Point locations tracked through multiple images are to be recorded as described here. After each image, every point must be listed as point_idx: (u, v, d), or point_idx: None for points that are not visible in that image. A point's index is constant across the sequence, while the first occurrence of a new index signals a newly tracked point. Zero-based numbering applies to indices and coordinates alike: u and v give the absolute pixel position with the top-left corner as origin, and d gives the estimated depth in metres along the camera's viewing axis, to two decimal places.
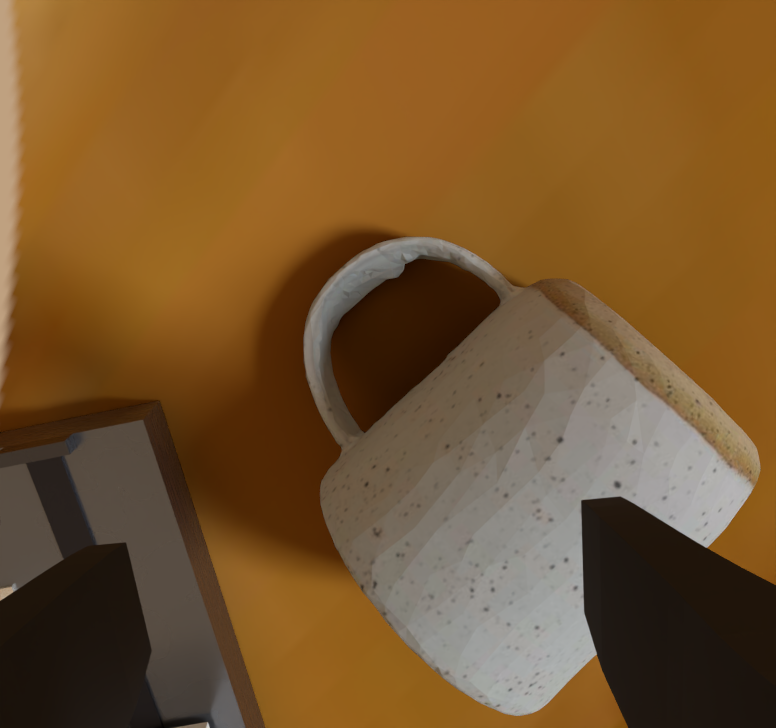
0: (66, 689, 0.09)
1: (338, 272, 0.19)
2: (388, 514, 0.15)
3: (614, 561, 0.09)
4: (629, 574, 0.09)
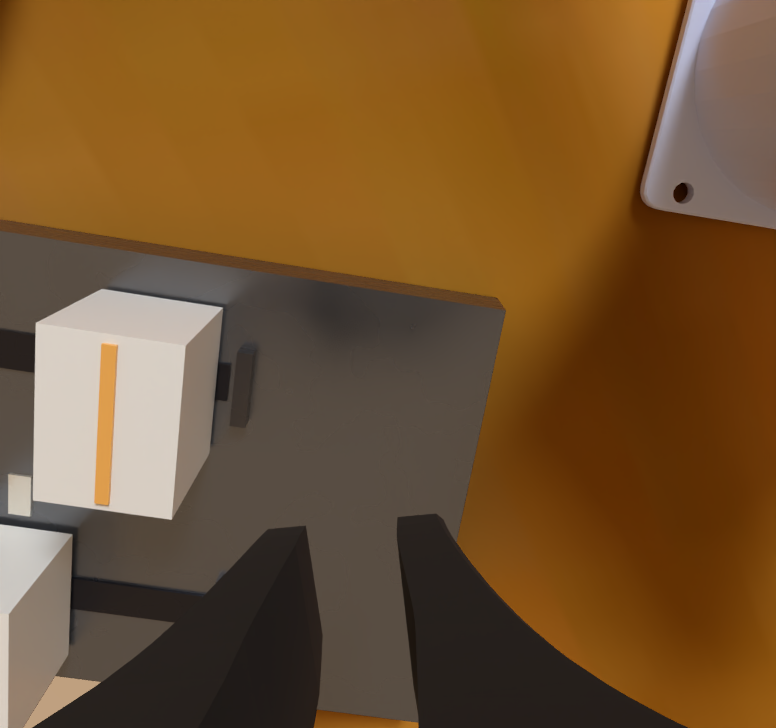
0: (284, 670, 0.09)
1: None
2: None
3: (403, 580, 0.10)
4: (406, 594, 0.09)
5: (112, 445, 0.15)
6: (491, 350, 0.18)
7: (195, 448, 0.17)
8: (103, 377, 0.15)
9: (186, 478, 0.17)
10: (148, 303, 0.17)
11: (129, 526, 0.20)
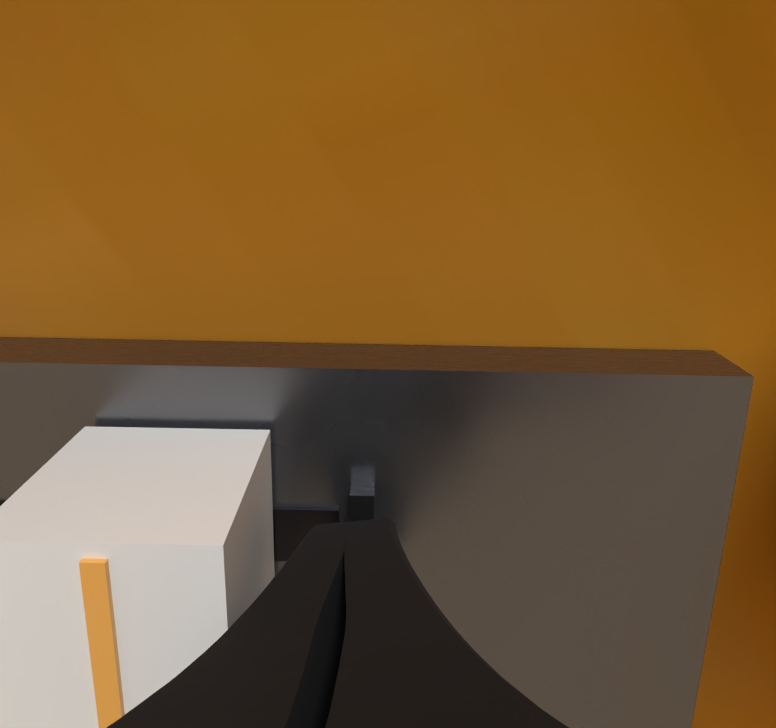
0: None
1: None
2: None
3: None
4: None
5: (123, 714, 0.09)
6: (734, 438, 0.12)
7: None
8: (92, 612, 0.09)
9: None
10: (156, 445, 0.11)
11: None
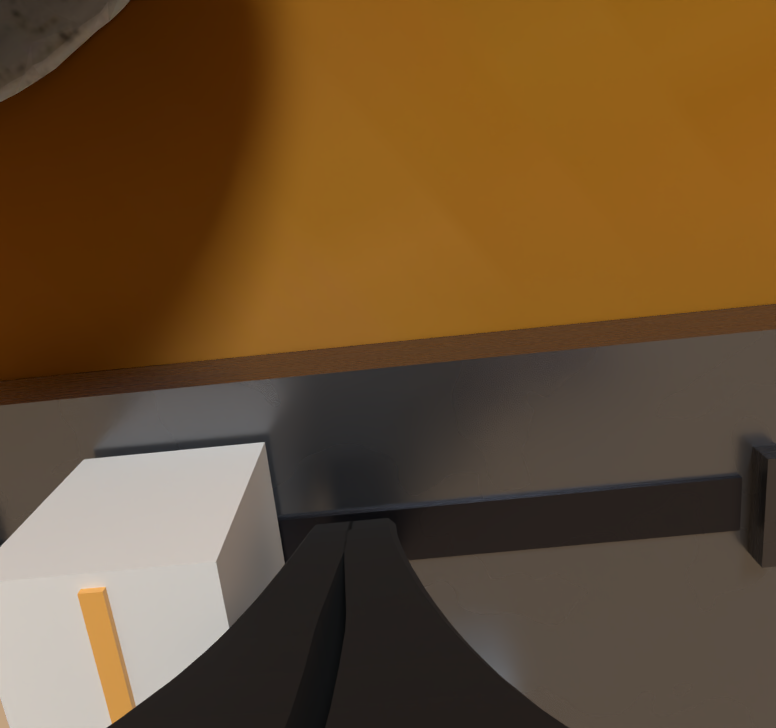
0: None
1: None
2: None
3: None
4: None
5: None
6: None
7: None
8: (97, 640, 0.09)
9: None
10: (152, 470, 0.11)
11: None
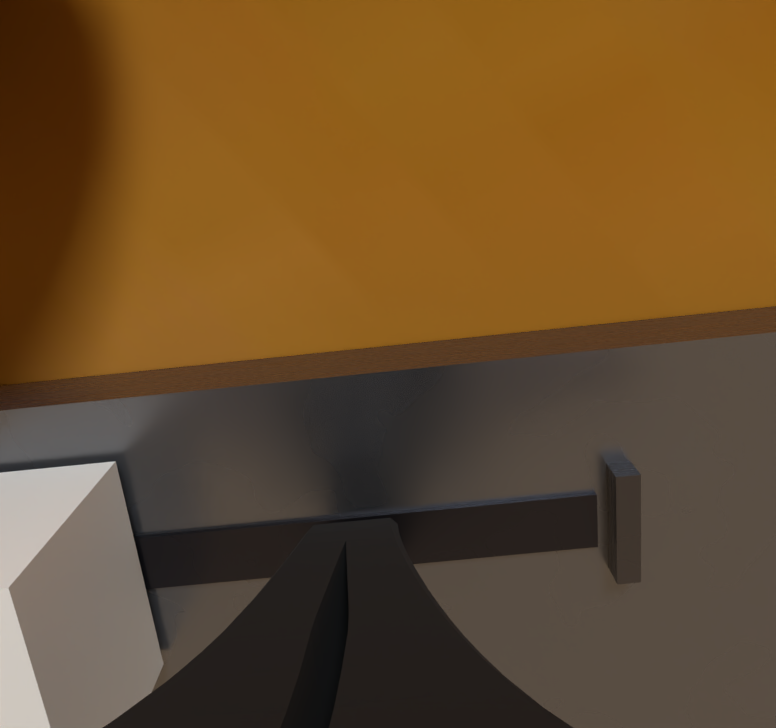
0: (340, 665, 0.09)
1: None
2: None
3: None
4: None
5: None
6: None
7: (117, 693, 0.11)
8: None
9: None
10: None
11: None
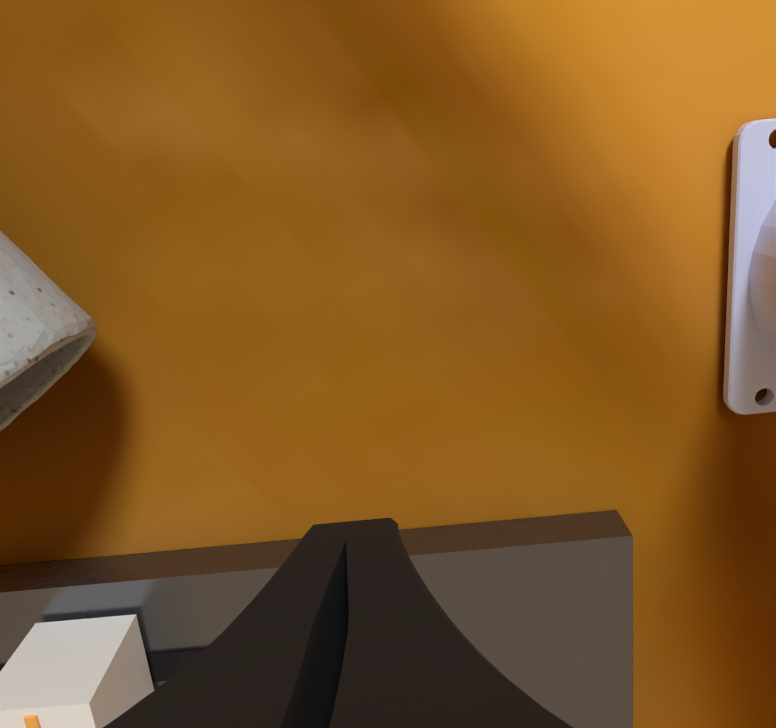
0: (340, 666, 0.09)
1: None
2: None
3: None
4: None
5: None
6: (627, 569, 0.21)
7: None
8: None
9: None
10: (71, 634, 0.20)
11: None
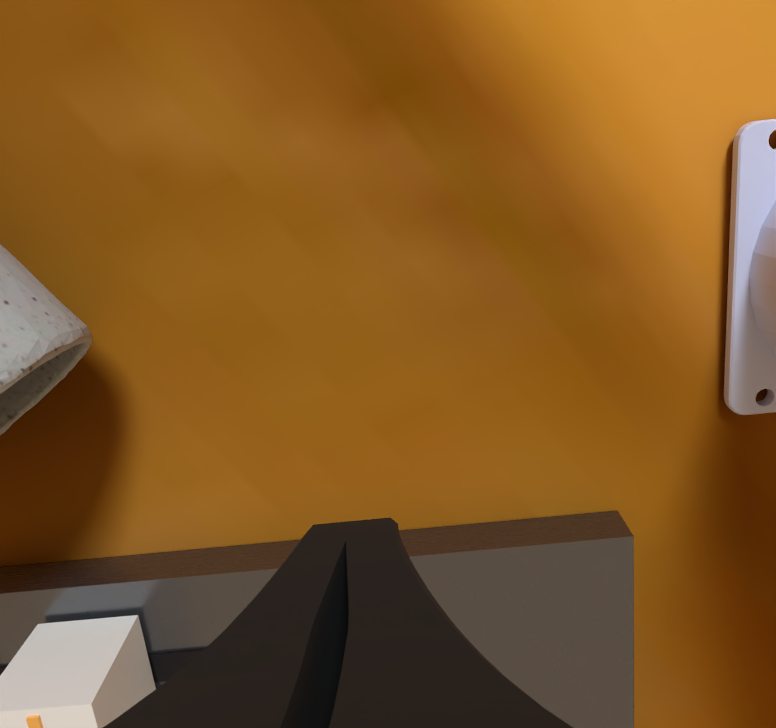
0: (340, 666, 0.09)
1: None
2: None
3: None
4: None
5: None
6: (628, 570, 0.21)
7: None
8: None
9: None
10: (73, 635, 0.20)
11: None
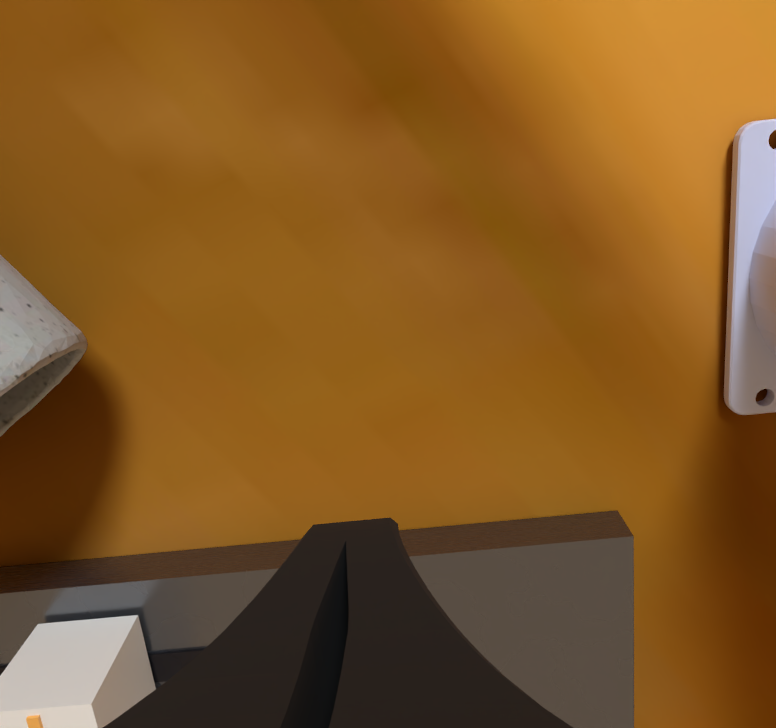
0: (340, 666, 0.09)
1: None
2: None
3: None
4: None
5: None
6: (628, 570, 0.21)
7: None
8: None
9: None
10: (73, 635, 0.20)
11: None
